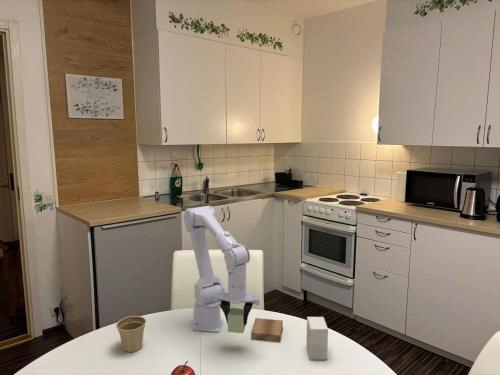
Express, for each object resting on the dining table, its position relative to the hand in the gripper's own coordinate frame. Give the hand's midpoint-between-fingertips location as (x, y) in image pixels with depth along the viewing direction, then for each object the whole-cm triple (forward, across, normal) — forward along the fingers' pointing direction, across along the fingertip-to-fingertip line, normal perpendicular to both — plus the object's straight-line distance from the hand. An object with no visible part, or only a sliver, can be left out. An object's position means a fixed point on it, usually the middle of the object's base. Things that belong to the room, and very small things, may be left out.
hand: (237, 322), depth 123 cm
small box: (+9, +26, +2) cm, 27 cm away
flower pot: (+9, -34, -5) cm, 36 cm away
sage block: (+2, 0, 0) cm, 2 cm away
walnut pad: (+9, +9, +11) cm, 17 cm away
